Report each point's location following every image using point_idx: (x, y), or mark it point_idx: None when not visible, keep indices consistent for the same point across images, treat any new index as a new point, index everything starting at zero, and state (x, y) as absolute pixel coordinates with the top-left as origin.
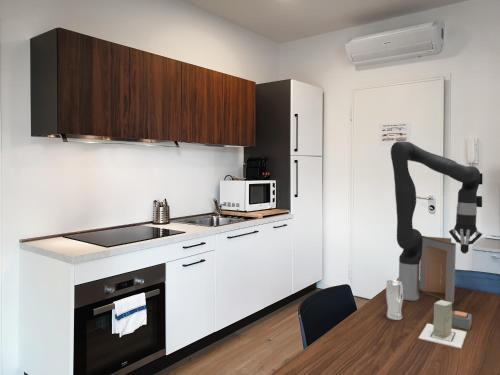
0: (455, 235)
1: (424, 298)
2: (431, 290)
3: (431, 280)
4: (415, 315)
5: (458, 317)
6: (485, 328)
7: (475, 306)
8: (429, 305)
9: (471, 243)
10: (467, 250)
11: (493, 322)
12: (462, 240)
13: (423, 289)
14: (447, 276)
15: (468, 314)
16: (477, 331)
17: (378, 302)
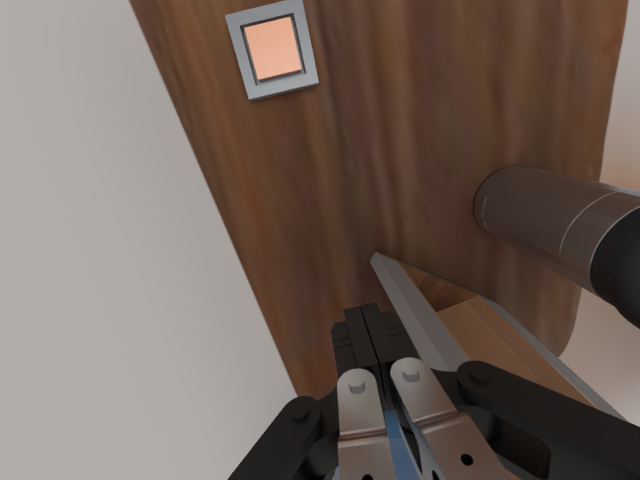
0: (581, 461)
1: (459, 235)
2: (459, 306)
3: (480, 328)
4: (434, 22)
5: (268, 8)
6: (202, 95)
7: (309, 283)
8: (425, 179)
9: (298, 402)
10: (336, 335)
11: (211, 179)
12: (424, 405)
13: (484, 299)
14: (427, 308)
15: (256, 86)
16: (207, 37)
17: (592, 56)
